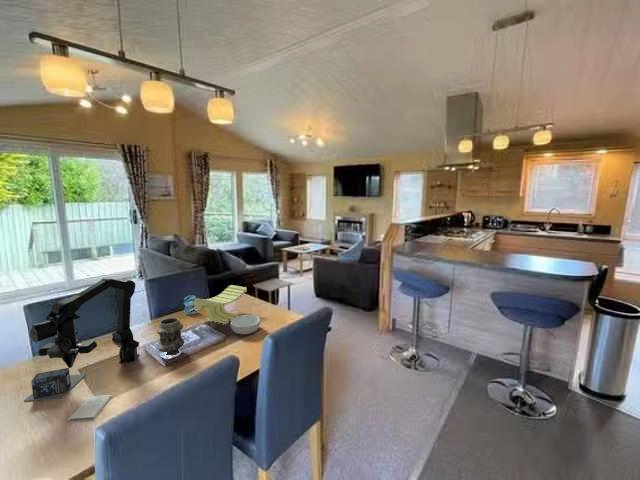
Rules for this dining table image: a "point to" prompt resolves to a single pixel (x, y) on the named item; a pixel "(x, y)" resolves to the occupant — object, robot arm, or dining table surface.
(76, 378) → the mat
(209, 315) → the slatted curved stool
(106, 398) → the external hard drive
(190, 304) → the blue patterned cup
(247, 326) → the cereal bowl
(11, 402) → the dining table surface
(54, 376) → the box
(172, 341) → the apothecary jar
